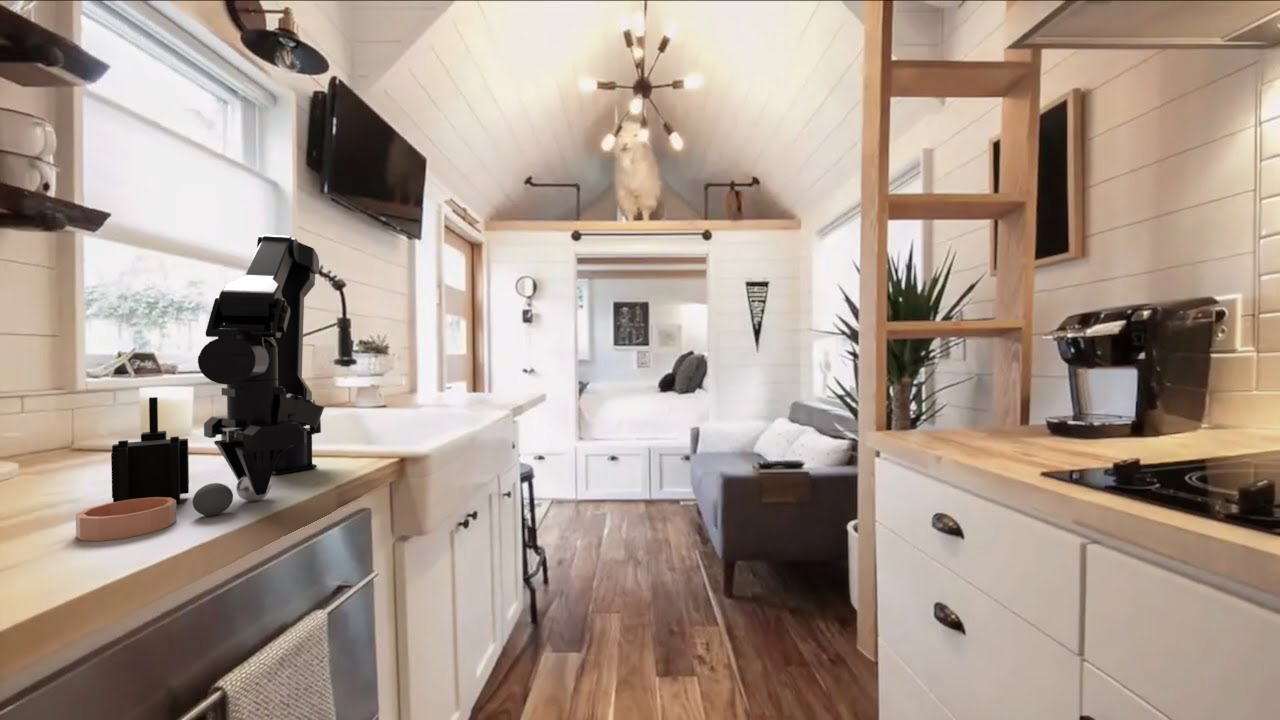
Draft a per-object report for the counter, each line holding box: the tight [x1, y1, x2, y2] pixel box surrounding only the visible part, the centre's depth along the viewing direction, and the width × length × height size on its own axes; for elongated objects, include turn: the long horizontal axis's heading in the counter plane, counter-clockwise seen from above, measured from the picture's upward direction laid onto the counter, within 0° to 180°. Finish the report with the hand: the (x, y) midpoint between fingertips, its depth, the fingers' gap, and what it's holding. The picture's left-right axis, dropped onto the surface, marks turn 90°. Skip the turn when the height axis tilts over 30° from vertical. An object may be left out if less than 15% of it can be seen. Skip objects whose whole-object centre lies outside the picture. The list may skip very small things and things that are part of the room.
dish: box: [75, 497, 178, 542], centre depth 62 cm, size 8×8×2 cm
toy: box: [110, 396, 190, 506], centre depth 73 cm, size 8×14×10 cm
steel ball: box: [235, 474, 273, 502], centre depth 73 cm, size 4×4×4 cm
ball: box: [192, 482, 234, 517], centre depth 67 cm, size 4×4×4 cm
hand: (254, 492), depth 73 cm, fingers closed on steel ball, 4 cm apart
